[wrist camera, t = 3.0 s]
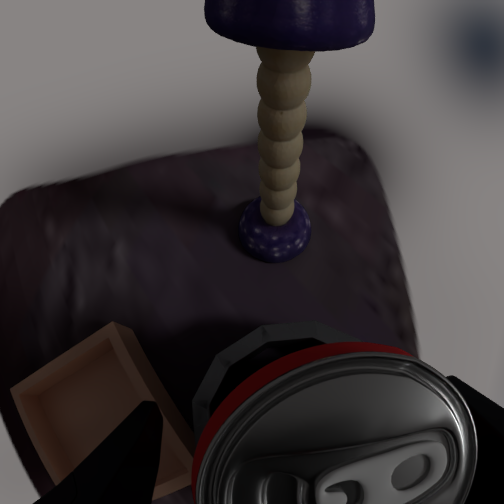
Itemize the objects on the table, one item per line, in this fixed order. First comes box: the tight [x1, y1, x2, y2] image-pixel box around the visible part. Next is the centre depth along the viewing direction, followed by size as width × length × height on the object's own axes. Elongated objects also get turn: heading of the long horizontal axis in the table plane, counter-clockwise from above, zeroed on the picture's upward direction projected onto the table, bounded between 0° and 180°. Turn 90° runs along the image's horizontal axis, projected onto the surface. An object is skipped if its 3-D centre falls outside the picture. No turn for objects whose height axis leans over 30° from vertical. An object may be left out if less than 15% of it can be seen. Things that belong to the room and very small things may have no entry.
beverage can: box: [191, 342, 478, 504], centre depth 9 cm, size 5×5×12 cm
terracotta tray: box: [10, 321, 196, 500], centre depth 13 cm, size 9×9×2 cm
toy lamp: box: [204, 0, 375, 263], centre depth 11 cm, size 5×5×17 cm
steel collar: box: [192, 320, 363, 448], centre depth 13 cm, size 8×8×4 cm
